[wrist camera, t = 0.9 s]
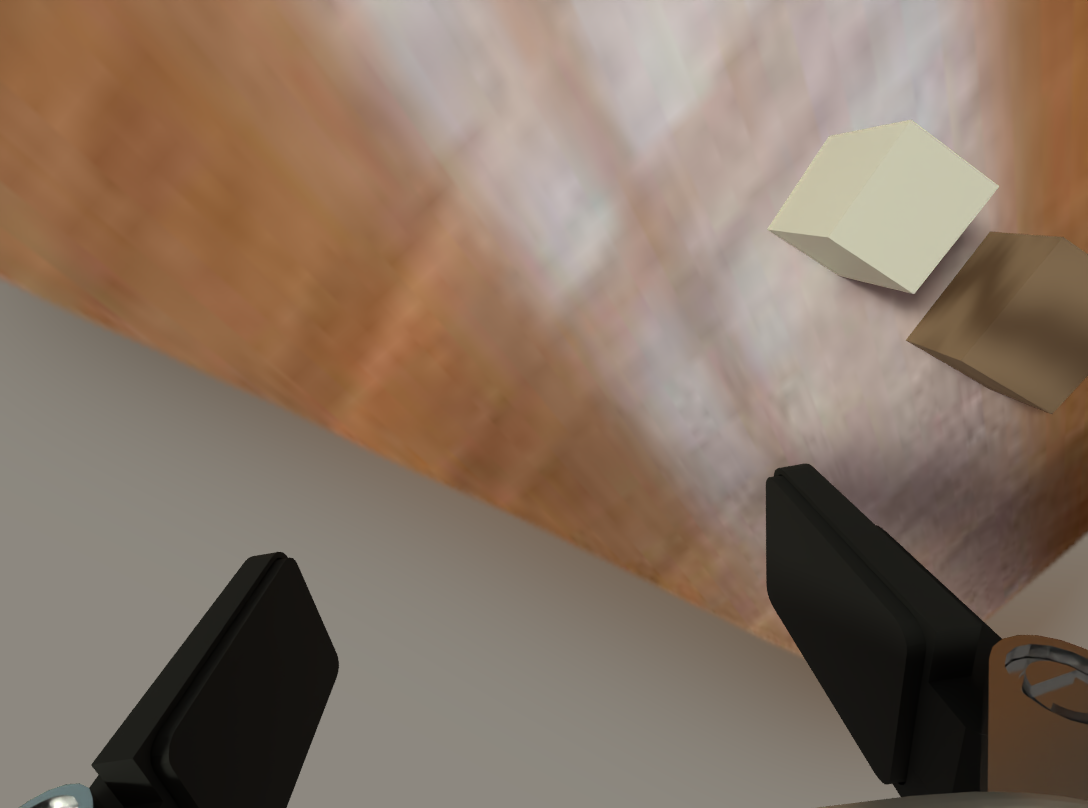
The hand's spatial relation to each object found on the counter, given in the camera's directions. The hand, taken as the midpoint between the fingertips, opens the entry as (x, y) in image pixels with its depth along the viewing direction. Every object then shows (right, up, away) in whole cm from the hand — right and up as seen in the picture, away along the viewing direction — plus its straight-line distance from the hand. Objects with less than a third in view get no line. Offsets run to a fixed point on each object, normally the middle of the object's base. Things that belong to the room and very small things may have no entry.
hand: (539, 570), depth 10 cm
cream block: (+18, +15, +22) cm, 33 cm away
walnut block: (+30, +9, +25) cm, 41 cm away
